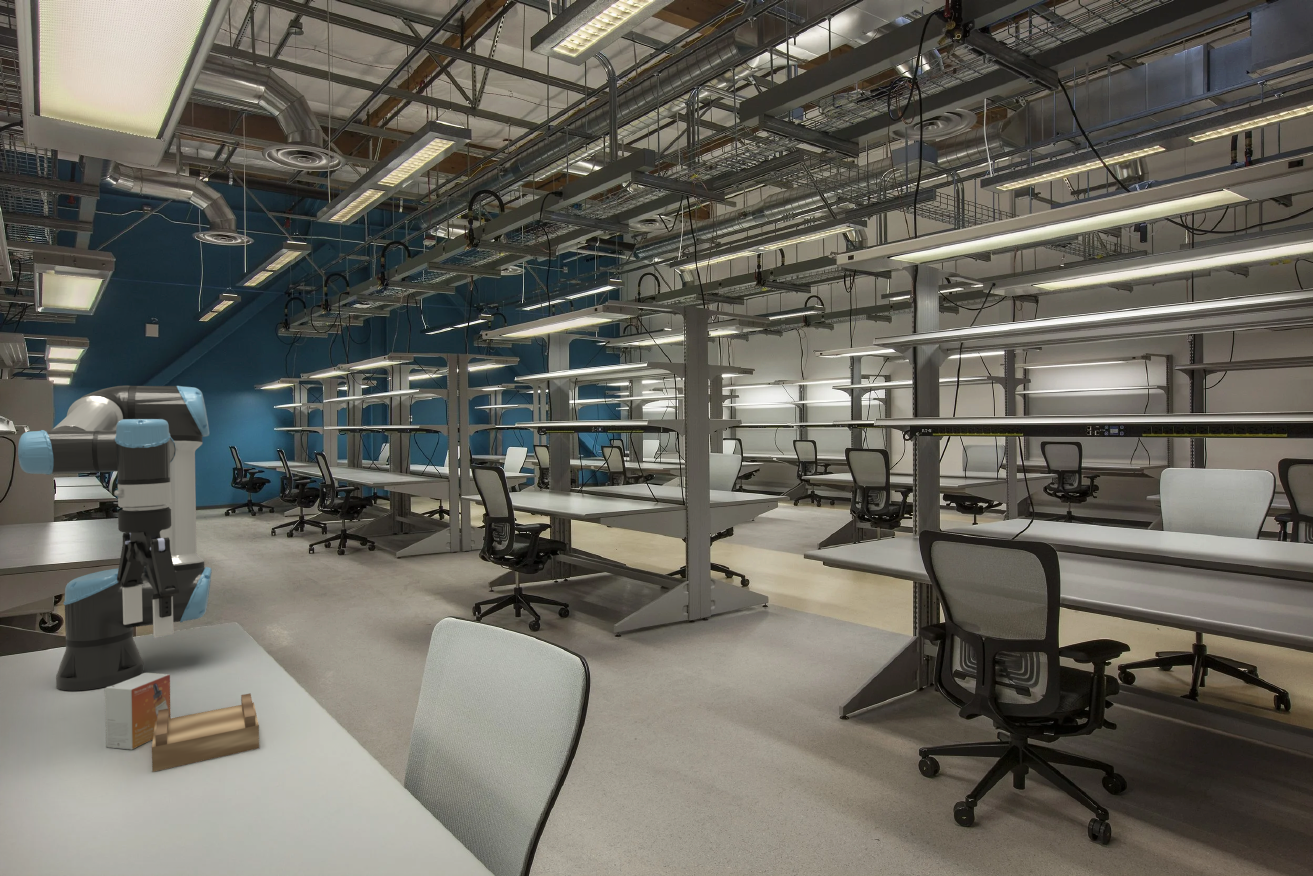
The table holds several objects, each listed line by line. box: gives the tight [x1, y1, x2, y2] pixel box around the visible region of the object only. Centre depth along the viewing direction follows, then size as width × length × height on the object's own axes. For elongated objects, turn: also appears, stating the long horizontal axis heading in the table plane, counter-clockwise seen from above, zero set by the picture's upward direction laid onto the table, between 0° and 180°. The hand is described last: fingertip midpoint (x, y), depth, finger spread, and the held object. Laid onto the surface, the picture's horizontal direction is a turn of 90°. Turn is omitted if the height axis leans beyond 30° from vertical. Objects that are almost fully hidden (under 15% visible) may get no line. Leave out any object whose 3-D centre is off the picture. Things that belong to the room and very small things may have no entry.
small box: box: [104, 672, 172, 750], centre depth 127 cm, size 8×6×10 cm
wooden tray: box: [151, 693, 260, 773], centre depth 124 cm, size 12×15×6 cm
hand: (147, 629), depth 125 cm, fingers open, 13 cm apart
